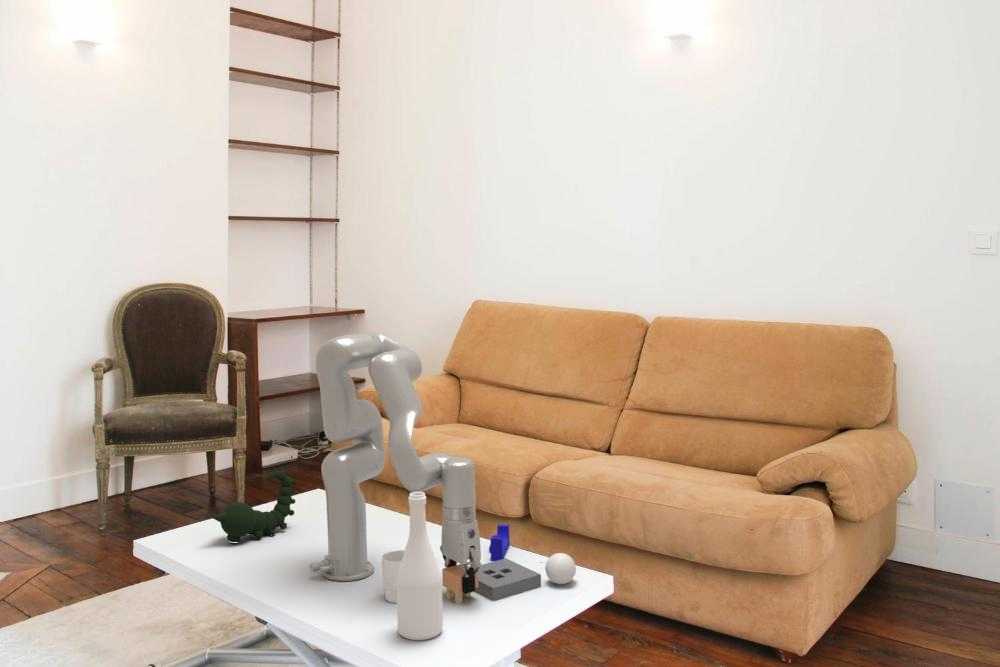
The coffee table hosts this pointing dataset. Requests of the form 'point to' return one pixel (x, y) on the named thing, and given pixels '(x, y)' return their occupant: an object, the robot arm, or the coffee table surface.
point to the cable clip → (499, 543)
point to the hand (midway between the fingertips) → (460, 587)
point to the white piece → (560, 568)
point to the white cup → (391, 573)
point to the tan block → (456, 582)
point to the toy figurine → (258, 513)
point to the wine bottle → (419, 580)
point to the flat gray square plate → (505, 579)
